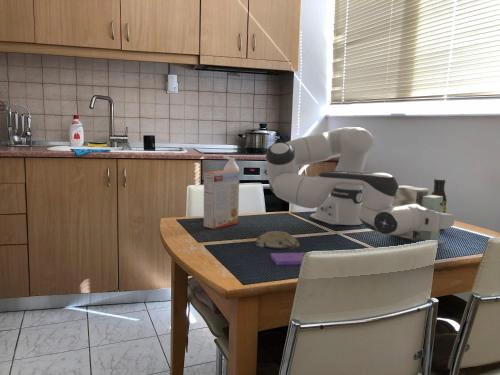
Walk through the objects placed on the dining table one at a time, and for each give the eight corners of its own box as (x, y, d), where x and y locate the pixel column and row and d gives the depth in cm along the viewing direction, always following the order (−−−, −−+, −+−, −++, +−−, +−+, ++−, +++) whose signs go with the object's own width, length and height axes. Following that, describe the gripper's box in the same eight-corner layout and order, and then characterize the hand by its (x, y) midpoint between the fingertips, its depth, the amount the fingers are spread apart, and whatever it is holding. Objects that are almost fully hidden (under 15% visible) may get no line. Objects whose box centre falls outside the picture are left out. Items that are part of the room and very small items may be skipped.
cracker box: (227, 221, 171) (228, 169, 168) (238, 223, 167) (240, 170, 164) (202, 226, 160) (203, 171, 157) (213, 229, 157) (215, 173, 154)
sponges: (318, 265, 122) (319, 259, 122) (276, 266, 120) (276, 260, 120) (310, 257, 129) (310, 251, 129) (270, 258, 127) (270, 252, 126)
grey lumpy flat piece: (245, 242, 144) (273, 253, 132) (245, 231, 143) (274, 241, 131) (279, 237, 152) (309, 247, 140) (280, 227, 152) (309, 236, 140)
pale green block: (419, 238, 150) (423, 196, 148) (427, 236, 154) (432, 194, 152) (432, 241, 146) (437, 198, 144) (441, 239, 150) (445, 197, 148)
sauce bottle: (445, 230, 169) (450, 180, 166) (428, 229, 170) (433, 179, 167) (441, 227, 175) (446, 178, 172) (425, 225, 176) (430, 177, 173)
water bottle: (240, 217, 178) (242, 157, 175) (227, 219, 175) (229, 158, 171) (229, 213, 185) (230, 156, 182) (216, 215, 181) (217, 156, 178)
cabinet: (385, 235, 158) (389, 186, 156) (399, 231, 165) (404, 185, 162) (432, 246, 145) (437, 194, 142) (446, 242, 151) (451, 191, 149)
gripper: (383, 220, 149) (404, 216, 158) (440, 233, 134) (460, 227, 143) (384, 202, 148) (406, 199, 157) (442, 213, 133) (463, 209, 142)
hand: (432, 213), depth 150 cm, fingers closed on pale green block, 4 cm apart
